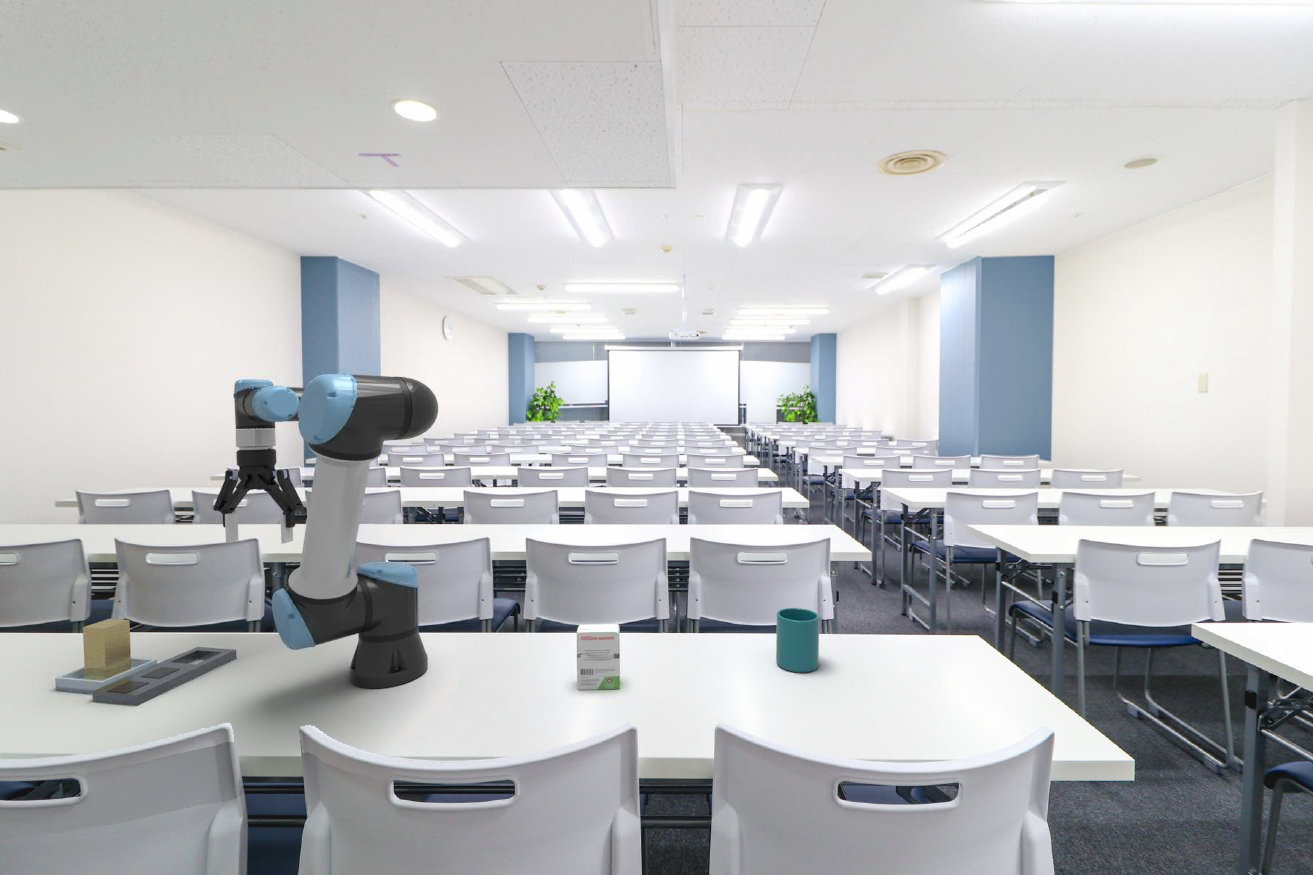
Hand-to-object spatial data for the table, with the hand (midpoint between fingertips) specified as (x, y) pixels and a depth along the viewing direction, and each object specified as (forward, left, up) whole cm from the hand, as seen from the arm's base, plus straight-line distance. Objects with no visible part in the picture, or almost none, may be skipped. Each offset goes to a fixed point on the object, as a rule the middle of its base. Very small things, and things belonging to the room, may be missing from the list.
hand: (259, 542), depth 137 cm
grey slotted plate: (+8, +15, -26) cm, 31 cm away
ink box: (-80, +3, -26) cm, 84 cm away
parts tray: (+20, +18, -26) cm, 37 cm away
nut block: (+20, +18, -25) cm, 36 cm away
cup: (-120, -15, -26) cm, 124 cm away
